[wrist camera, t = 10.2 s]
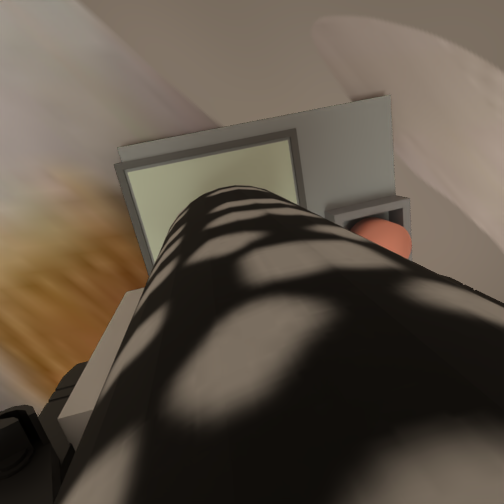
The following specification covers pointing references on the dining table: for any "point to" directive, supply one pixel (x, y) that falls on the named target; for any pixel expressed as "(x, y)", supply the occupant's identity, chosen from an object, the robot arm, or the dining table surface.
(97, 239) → the dining table surface
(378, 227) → the button
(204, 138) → the picture board
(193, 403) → the white-spotted black cylinder
